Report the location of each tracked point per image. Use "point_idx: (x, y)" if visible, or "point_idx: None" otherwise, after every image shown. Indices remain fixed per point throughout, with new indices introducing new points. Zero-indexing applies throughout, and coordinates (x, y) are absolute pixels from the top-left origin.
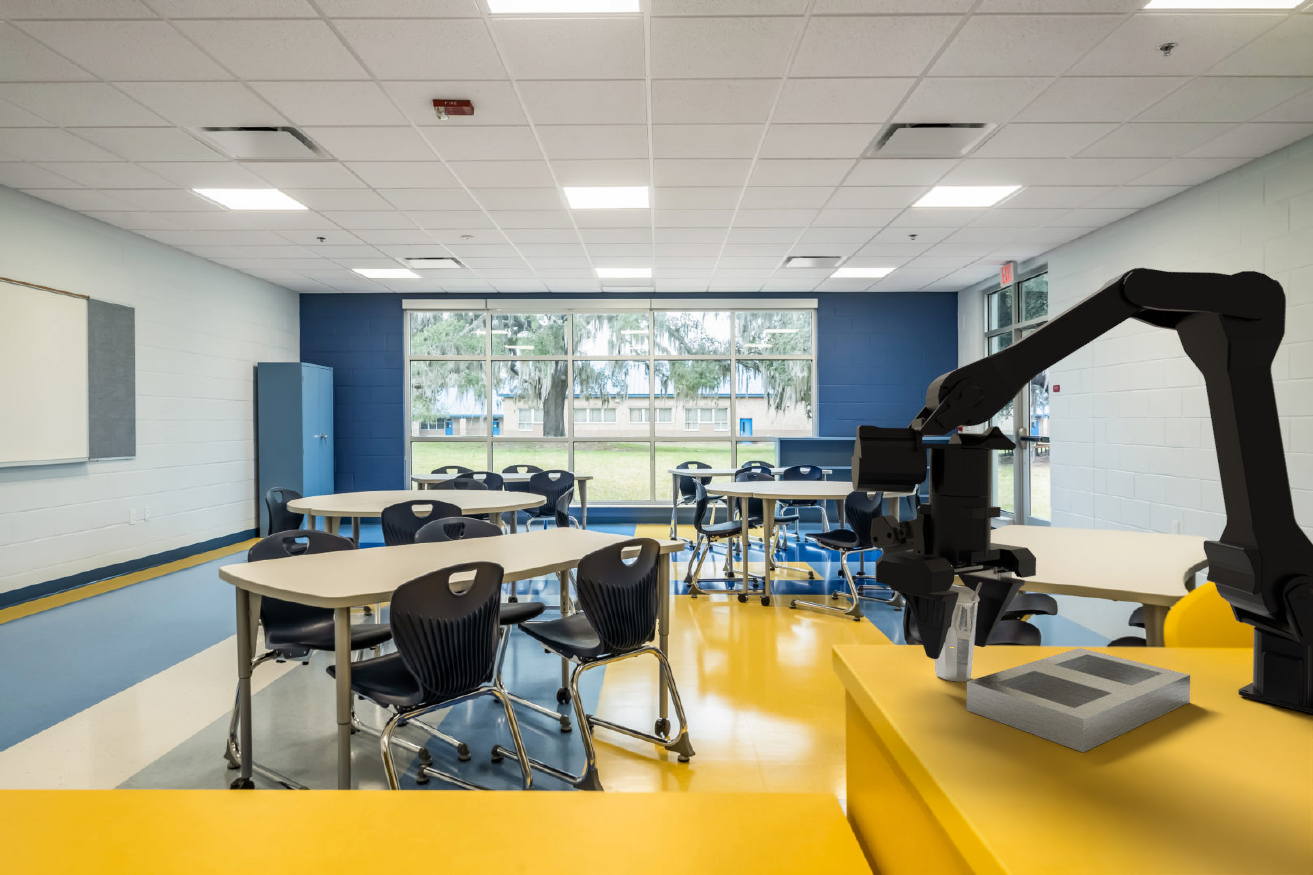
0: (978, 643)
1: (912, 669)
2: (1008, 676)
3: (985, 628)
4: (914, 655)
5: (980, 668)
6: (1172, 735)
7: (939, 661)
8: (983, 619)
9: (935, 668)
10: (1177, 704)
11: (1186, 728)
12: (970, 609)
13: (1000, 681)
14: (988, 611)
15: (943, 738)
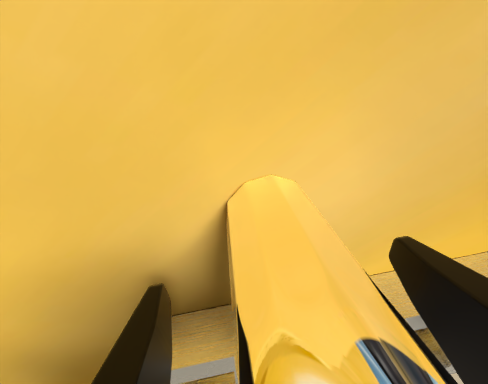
0: (396, 251)
1: (210, 132)
2: (231, 368)
3: (426, 311)
4: (354, 8)
5: (383, 186)
6: None
7: (229, 237)
8: (458, 331)
9: (241, 195)
10: None
11: None
12: None
13: (191, 380)
14: (485, 375)
15: (14, 374)
